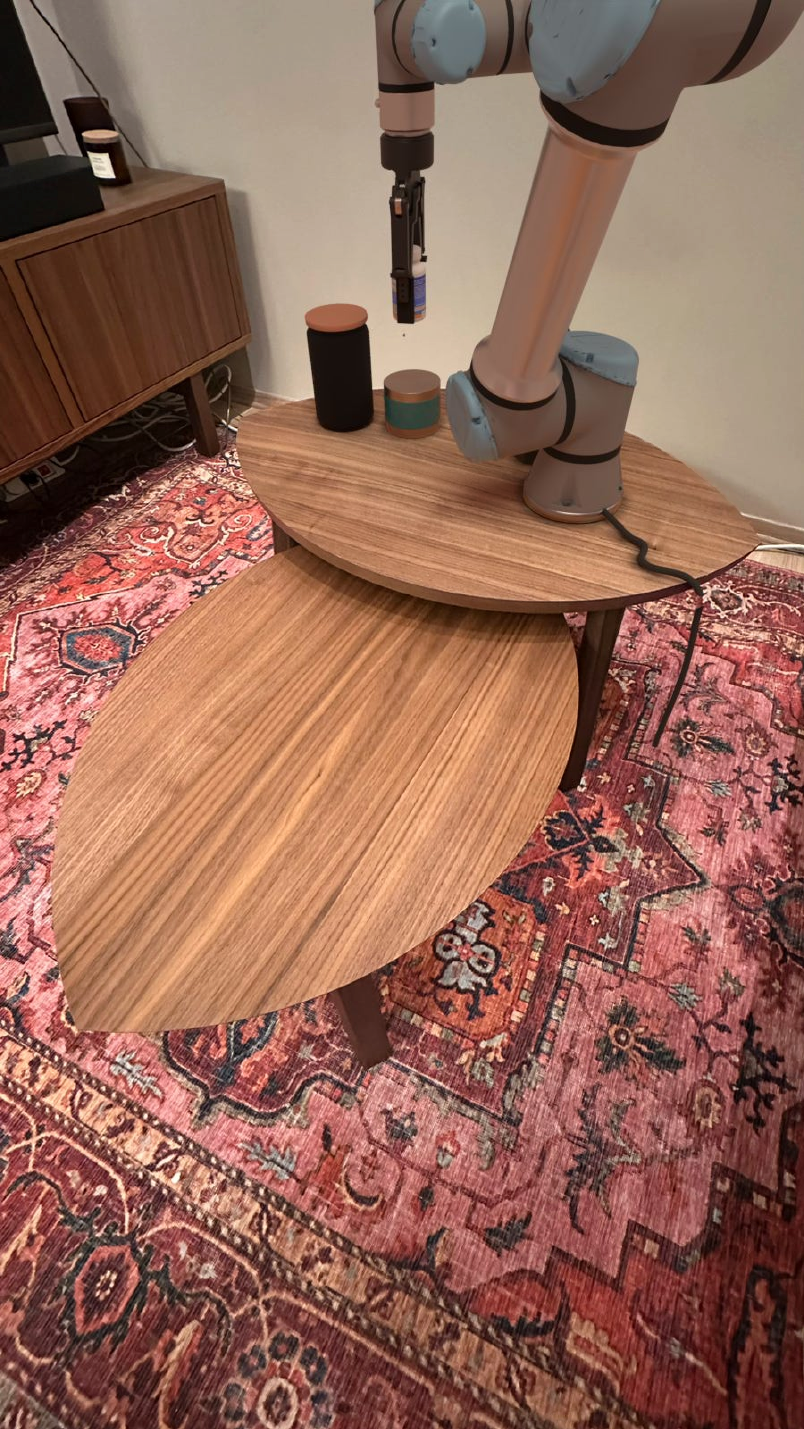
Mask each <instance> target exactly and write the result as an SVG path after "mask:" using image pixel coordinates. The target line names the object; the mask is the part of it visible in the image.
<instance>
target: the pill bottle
mask: <svg viewBox="0 0 804 1429" xmlns="http://www.w3.org/2000/svg"><path fill="white" fill-rule="evenodd" d="M420 259H421V248H420V247H419V246H417V245H413V263H412V272H413V275H412V276H414V313H415V323H418V322H422V321H424V320H425V319H426V316H427V269H426V268H427V267H426V265H425V264H424V262H420ZM390 273H392V269H391V272H390ZM391 296H392V297H391V298H392V302H391V303H392V318H393V319H394V320H395V321H396V322H397V300H396V278H391Z"/></svg>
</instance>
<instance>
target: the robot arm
mask: <svg viewBox="0 0 804 1429" xmlns="http://www.w3.org/2000/svg"><path fill="white" fill-rule="evenodd" d="M803 13H804V0H374V4H373V15H374V22H375V23H374V25H375V46H376V49H375V50H376V67H377V89H378V98H376V99H375V101H374V105H375V108H377V109H379V112H378V113H379V114H378V116H379V127H380V129H381V130H382V131H384V132H382V133H381V135H380V136H379V147H380V148H379V149H380V150H379V151H380V165H381V167H382V168H383V169H385V170H386V171H393V173H394V176H395V177H394V184H393V185H392V186H391V196H389V200H388V204H389V215H390V242H391V243H390V244H391V270H392V273H391V272H390V273H389V275H390V278H391V279H392V278H396V300H397V321H396V323H397V324H401V325H402V324H403V325H415V323H416V322H415V313H414V276H412V275H413V272H412V263H413V245H417V246H419V247H420V248H421V259H420V262H422V263H427V261H428V255H425V253H426V239H425V238H426V237H425V236H426V234H425V232H426V230H425V227H426V226H425V225H426V224H425V222H426V221H425V219H426V218H425V192H426V190H425V188H426V183H427V182H426V181H427V180H426V177H425V176H421V171H425V170H428V169H430V168H431V167H432V166H433V165H434V163H435V134H433V132H432V130H431V129H432V128H434V126H435V124H436V122H435V121H436V118H435V117H436V114H435V113H436V112H435V111H436V109H435V108H436V106H435V105H436V89H435V84H436V85H440V86H445V85H459V84H461V83H464V82H465V81H466V80H468V79H475V78H487V77H494V76H495V77H498V76H499V75H500V76H501V75H516V74H517V75H518V74H529V73H532V74H533V78H534V80H535V82H536V84H537V86H538V88H539V92H538V93H539V94H538V98H539V100H538V101H539V104H540V108H541V110H542V112H543V114H544V115H545V118H546V120H547V122H548V124H547V128H546V131H545V135H544V139H543V142H542V146H541V150H540V152H539V157H538V160H537V164H536V166H535V167H536V168H535V172H534V175H533V179H532V182H531V186H530V190H529V194H528V197H527V201H526V204H525V208H524V212H523V216H522V219H521V222H520V226H519V230H518V234H517V237H516V241H515V244H514V248H513V252H512V255H511V259H510V263H509V266H508V270H507V274H506V277H505V281H504V284H503V287H502V291H501V296H500V299H499V304H498V306H497V310H496V313H495V316H494V321H493V324H492V328H491V332H490V334H488V335H486V336H484V337H483V338H482V339H481V340H480V341H478V343H477V344H476V345H475V347H474V349H473V352H472V356H471V359H470V363H469V368H468V369H467V370H458V371H457V372H455V373H452V374H450V376H449V377H448V378H447V381H446V383H445V390H444V394H445V395H444V402H445V409H446V410H445V411H446V416H447V420H448V424H449V428H450V431H451V434H452V437H453V440H454V441H455V442H454V443H455V444H456V446H457V448H458V450H459V451H460V453H461V454H462V456H463V457H464V458H465V459H467V461H469V462H471V463H476V464H482V463H486V462H487V463H488V462H497V461H499V460H503V459H507V458H510V457H515V456H514V455H518V454H522V453H526V452H530V451H534V450H538V449H539V451H538V454H537V456H536V458H535V461H534V463H533V465H531V467H530V468H531V469H529V471H528V472H527V474H526V476H525V479H524V481H523V488H522V498H523V501H524V503H525V504H526V506H527V507H528V508H529V509H530V510H532V511H533V512H534V513H536V514H537V515H539V516H541V517H543V518H546V519H549V520H552V521H555V522H559V523H567V524H589V523H594V522H598V521H602V520H605V519H606V520H607V521H608V522H609V523H610V524H611V525H612V526H613V527H614V528H615V529H616V530H617V531H618V532H619V533H620V534H621V536H623V538H625V539H626V540H627V541H629V542H631V543H633V544H635V545H637V546H638V547H640V550H639V553H638V555H637V562H638V564H639V565H640V566H641V567H642V568H643V569H645V570H647V571H649V572H650V573H651V572H652V573H655V574H660V575H665V576H670V577H673V578H677V579H680V580H682V581H684V582H685V583H686V584H688V585H689V586H690V587H691V588H692V590H693V591H694V594H695V595H697V596H699V597H703V596H705V593H704V590H703V588H702V585H701V584H700V582H699V581H698V580H697V579H696V578H695V577H693V576H692V575H691V574H689V573H687V572H685V571H682V570H679V569H676V568H671V567H665V566H660V565H658V564H654V563H651V562H650V561H648V560H647V559H646V556H647V554H648V551H649V546H648V543H647V542H646V541H645V540H644V539H643V538H642V537H639V536H637V535H635V534H633V533H631V531H629V530H628V529H627V528H626V527H625V526H624V525H623V524H622V522H621V521H619V520H618V518H617V517H615V515H614V514H615V513H616V512H617V511H618V510H619V508H620V507H621V504H622V500H623V496H624V482H623V474H622V464H621V455H620V453H621V449H622V444H623V441H624V436H625V431H626V426H627V421H628V417H629V413H630V409H631V406H632V402H633V401H632V400H633V397H634V392H635V388H636V386H637V383H638V381H637V377H638V369H639V364H640V356H639V352H638V351H637V349H636V348H635V347H634V346H633V345H631V344H630V343H629V342H627V341H626V340H624V339H621V338H619V337H616V336H613V335H610V334H607V333H602V332H598V331H591V330H570V331H568V329H570V326H571V324H572V321H573V318H574V317H575V314H576V311H577V309H578V306H579V303H580V301H581V298H582V296H583V293H584V291H585V287H586V286H587V284H588V281H589V278H590V275H591V273H592V271H593V268H594V265H595V262H596V260H597V258H598V255H599V252H600V250H601V248H602V245H603V243H604V239H605V237H606V234H607V232H608V229H609V227H610V224H611V222H612V219H613V217H614V213H615V211H616V209H617V207H618V204H619V201H620V200H621V196H622V194H623V191H624V188H625V186H626V183H627V182H628V178H629V176H630V173H631V170H632V168H633V167H634V166H633V165H634V163H635V160H636V158H637V155H638V153H639V152H641V151H643V150H645V149H647V148H650V147H652V146H653V145H654V144H655V143H657V142H658V141H659V140H660V139H661V138H662V137H663V135H664V133H665V132H666V129H667V126H668V124H669V122H670V119H671V117H672V114H673V113H674V110H675V108H676V105H677V102H678V100H679V97H680V95H681V93H682V92H683V90H684V89H685V88H693V87H701V86H708V85H716V84H720V83H724V82H728V81H730V80H734V79H738V78H740V77H741V76H744V75H746V74H747V73H749V72H751V71H753V70H755V69H756V68H758V67H760V65H762V64H763V63H764V62H765V61H767V60H768V59H769V58H770V57H771V56H773V55H774V53H775V52H776V51H778V49H779V48H780V47H781V46H782V45H783V44H784V43H785V41H786V40H787V38H788V37H789V36H790V34H791V32H793V30H794V29H795V27H796V25H797V24H798V21H799V20H800V18H801V16H802V14H803ZM704 607H705V606H704V605H702V606H699V607H697V608H695V610H694V614H693V617H692V622H691V626H690V630H689V637H688V642H687V646H686V650H685V655H684V658H683V661H682V665H681V667H680V671H679V674H678V678H677V680H676V683H675V685H674V688H673V691H672V693H671V696H670V698H669V700H668V703H667V705H666V708H665V710H664V713H663V715H662V717H661V720H660V722H659V724H658V727H657V729H656V732H655V736H654V737H653V741H652V743H651V746H652V748H654V749H655V748H656V749H657V748H658V747H659V744H660V741H661V738H662V736H663V733H664V731H665V728H666V727H667V724H668V721H669V719H670V717H671V715H672V712H673V710H674V707H675V705H676V702H677V700H678V698H679V696H680V693H681V691H682V688H683V686H684V683H685V681H686V678H687V675H688V671H689V668H690V666H691V662H692V658H693V655H694V650H695V646H696V644H697V643H696V642H697V638H698V633H699V629H700V628H699V627H700V622H701V619H702V615H703V612H704V609H705V608H704Z"/></svg>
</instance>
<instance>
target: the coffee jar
mask: <svg viewBox="0 0 804 1429" xmlns="http://www.w3.org/2000/svg"><path fill="white" fill-rule="evenodd" d="M368 313H369V312H368V310H367V309H365V308H364V307H363V306H361V305H358V304H353V303H338V302H337V303H329V304H324V305H319V306H316V307H314V308H311V309H310V310H308V311H306V313H305V314H304V321H305V325H306V326H307V327H308V328H307V330H306V340H307V348H308V357H309V364H310V365H309V366H310V372H311V380H312V388H313V389H312V390H313V398H314V405H315V411H316V412H315V413H316V419H317V421H318V422H319V423H320V424H321V425H322V427H323V428H324V429H326V430H328V431H332V432H337V433H348V432H354V431H355V432H356V431H358V430H361V429H363V428H365V427H367V426H368V425H369V424H370V423H371V421H372V420H373V416H374V414H375V406H374V392H373V391H374V390H373V376H372V375H373V374H372V372H373V371H372V356H371V340H370V330H369V327H368V325H367V322H368V319H369V314H368Z"/></svg>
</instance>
